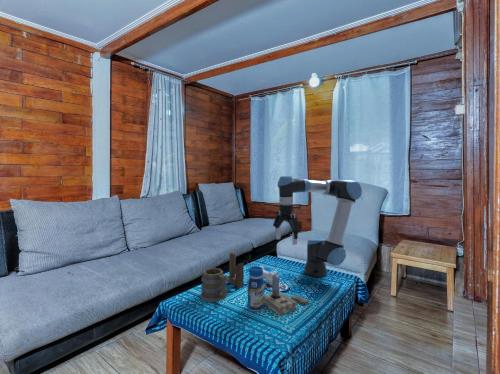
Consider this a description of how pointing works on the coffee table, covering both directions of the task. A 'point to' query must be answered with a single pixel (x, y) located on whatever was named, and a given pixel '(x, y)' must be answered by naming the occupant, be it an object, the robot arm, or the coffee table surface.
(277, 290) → the peg
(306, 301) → the walnut slat
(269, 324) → the coffee table surface
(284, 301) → the socket block
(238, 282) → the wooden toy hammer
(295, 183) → the robot arm
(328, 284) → the coffee table surface
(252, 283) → the beverage bottle
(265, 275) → the bone shaped toy
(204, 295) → the tankard
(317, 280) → the coffee table surface
